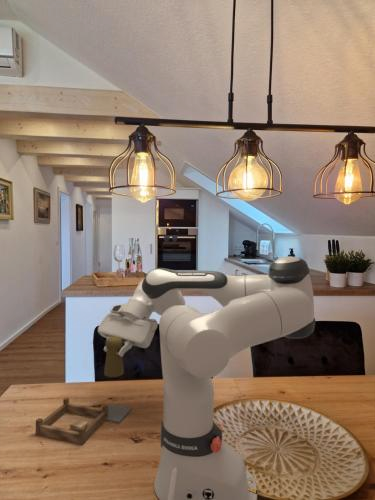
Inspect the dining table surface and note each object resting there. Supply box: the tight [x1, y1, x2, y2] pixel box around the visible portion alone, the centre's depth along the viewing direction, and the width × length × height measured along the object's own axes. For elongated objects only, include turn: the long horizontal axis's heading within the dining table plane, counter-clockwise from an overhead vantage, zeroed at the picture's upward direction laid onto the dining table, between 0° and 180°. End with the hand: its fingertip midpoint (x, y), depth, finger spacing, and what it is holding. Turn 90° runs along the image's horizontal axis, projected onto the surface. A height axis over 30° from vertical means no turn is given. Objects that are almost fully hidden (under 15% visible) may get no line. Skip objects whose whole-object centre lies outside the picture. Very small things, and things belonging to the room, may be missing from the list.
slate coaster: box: [94, 403, 132, 425], centre depth 100 cm, size 8×8×1 cm
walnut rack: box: [35, 397, 108, 446], centre depth 94 cm, size 15×13×4 cm
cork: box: [103, 336, 125, 378], centre depth 100 cm, size 6×6×11 cm
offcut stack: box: [68, 419, 89, 432], centre depth 89 cm, size 5×4×4 cm
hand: (112, 353), depth 99 cm, fingers closed on cork, 4 cm apart
